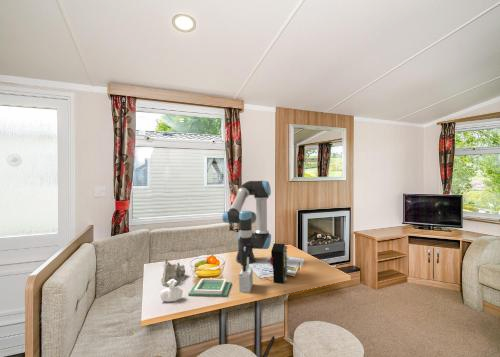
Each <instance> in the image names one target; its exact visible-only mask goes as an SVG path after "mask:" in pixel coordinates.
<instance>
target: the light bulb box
mask: <svg viewBox="0 0 500 357" xmlns="http://www.w3.org/2000/svg"><path fill="white" fill-rule="evenodd" d="M253 270H254V269H253V266H252V267H250V266H249V267H247V277H242V268H241V270H240V272H239V273H238V291H239V292H240V293H250V292H251V290H252V287H253V281H254V280H253V278H254V277H253V276H254V274H253V273H254V272H253Z"/></svg>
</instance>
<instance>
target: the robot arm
mask: <svg viewBox="0 0 500 357" xmlns="http://www.w3.org/2000/svg"><path fill="white" fill-rule="evenodd" d="M236 192H237V194H236V196H235V198H234V200H233V202H232V204H231V206H230V207H229V210H228V211H227V210H226V211H223V212H222V214H221V216H222V217H221V219H222V222H223V223H226V224H239V230H238V236H237V242H238V243H237V248H238V249H237V250H238V251H237V253H236V258H235V259H236V260H235V261H236V262H237V263H239V264H240V266H241V269H242V277H247V267H250V264H251V262H252V263H254V262H255V261H256V257H255V254H254V252H253V249H260V250H267V249H270V246H271V241H272V234H271V233H270V231H269V230H268V199H269V197H270V196H271V194H272V193H271V185H270V182H269V181H267V180H248V181H246V182H244V183H243V184H241V185H240V186H239V188H238V189H237V191H236ZM249 196H253V198H254V199H255V212H254V211H251V210H242V208H243V206H244V204H245V202H246V199H247V198H248V197H249ZM254 223H255V224H256V228H255V230H254V232H253V224H254Z"/></svg>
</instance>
